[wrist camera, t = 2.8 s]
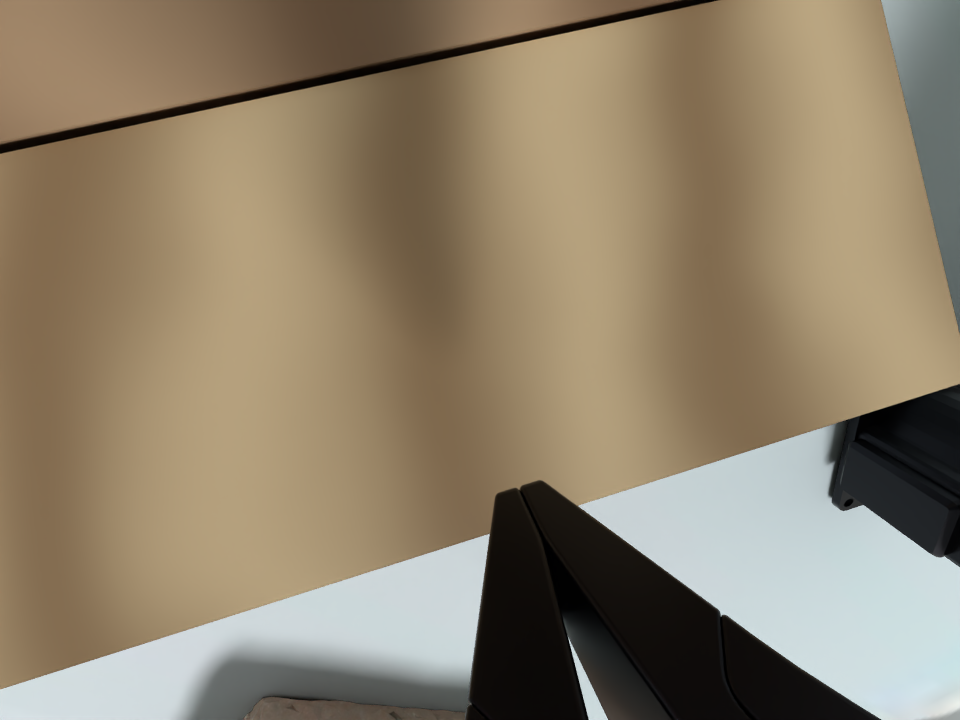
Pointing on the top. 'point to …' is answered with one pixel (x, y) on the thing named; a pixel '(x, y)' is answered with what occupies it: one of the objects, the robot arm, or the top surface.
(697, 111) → the oak plank
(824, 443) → the top surface
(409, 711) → the brick
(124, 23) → the floor base
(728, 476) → the top surface
